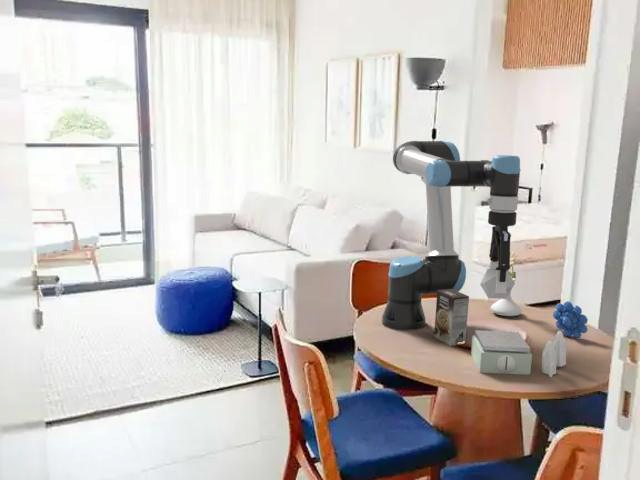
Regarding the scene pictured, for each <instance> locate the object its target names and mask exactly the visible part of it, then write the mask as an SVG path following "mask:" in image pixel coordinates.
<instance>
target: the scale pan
mask: <svg viewBox="0 0 640 480" xmlns="http://www.w3.org/2000/svg"><path fill="white" fill-rule="evenodd" d="M474 335H475V336H476V338H477V340H478V342H479V343H480V345H481V347H482V349H483V350H496V351H518V352H530V353H531V347H530V345H528V343H527V342H526V340H525V339H524V337H523V336H522V334H521V333H520V332H519V331H503V330H502V331H501V330H500V331H499V330H481V329H480V330H478V329H477V330H474Z"/></svg>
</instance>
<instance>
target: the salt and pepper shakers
mask: <svg viewBox="0 0 640 480" xmlns="http://www.w3.org/2000/svg"><path fill="white" fill-rule="evenodd" d="M566 344H567V343H566V341H565V337H564V333H563V332H562V330H558V331H557V332H556V334H555V336H554V338H553V341H552V340H548V341H547V342H546V343H545V346H544V348H543V350H542V355H541V357H542V358H541V372H542V373H543V374H545V375H548V377H550V378H552V377H553V375H556V374H557V368H562V367H564V366H565V365H566V364H567V345H566Z"/></svg>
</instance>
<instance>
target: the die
mask: <svg viewBox="0 0 640 480" xmlns="http://www.w3.org/2000/svg"><path fill="white" fill-rule="evenodd" d="M496 279H497V270H496V269H490V268H487V269H486V271H485V273H484V275H483V278H482V279H481V281H480V283H479V285H480V287H481V288H482V290H483V292H484V293H485V295H486V297H487V298H488V299H499V300H501V299H507V298H508V296H509V294H510V292H511V293H512V289H513V288H514V285H515V283H516V282H515V281H513V279H512V278H511V276H510V275H509V273H507V286H506V293H496Z"/></svg>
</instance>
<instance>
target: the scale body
mask: <svg viewBox="0 0 640 480" xmlns="http://www.w3.org/2000/svg"><path fill="white" fill-rule="evenodd" d="M470 352H471V353H470V355H471V357H472V358H473V361H474V363H475V365H476V367H477V369H478V371H479V373H482V374H483V373H485V374H504V375H505V374H506V375H527V376H530V375H531V369H532V358H533V354H532V353H531V351H530V352H518V351H496V350H483V349H482V347H481V345H480V343H479V342H478V340H477V338H476V336H475V334H473V335H472V336H471V350H470Z"/></svg>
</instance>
